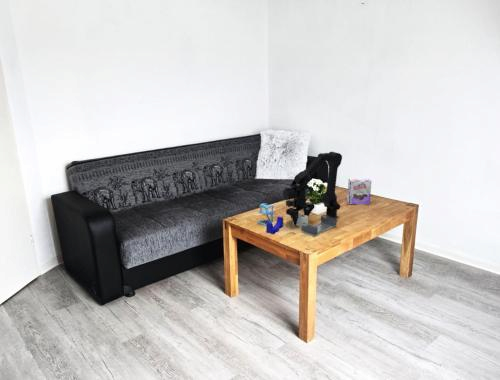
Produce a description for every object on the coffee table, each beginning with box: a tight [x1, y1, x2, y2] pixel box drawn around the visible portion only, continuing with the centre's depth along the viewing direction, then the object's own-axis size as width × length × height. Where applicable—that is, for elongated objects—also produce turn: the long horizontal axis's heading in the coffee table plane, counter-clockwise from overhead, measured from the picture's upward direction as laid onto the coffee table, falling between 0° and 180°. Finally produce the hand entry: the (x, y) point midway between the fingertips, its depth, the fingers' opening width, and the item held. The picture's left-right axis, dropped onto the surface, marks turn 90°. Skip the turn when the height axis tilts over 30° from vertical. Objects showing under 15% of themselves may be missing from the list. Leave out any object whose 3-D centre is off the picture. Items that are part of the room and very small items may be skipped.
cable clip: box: [265, 216, 284, 235], centre depth 225 cm, size 12×4×6 cm, turn 142°
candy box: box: [346, 178, 372, 205], centre depth 265 cm, size 14×6×16 cm, turn 88°
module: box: [292, 212, 309, 228], centre depth 232 cm, size 4×8×6 cm, turn 44°
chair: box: [256, 202, 275, 227], centre depth 235 cm, size 8×8×12 cm
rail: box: [300, 214, 338, 237], centre depth 225 cm, size 20×9×5 cm, turn 134°
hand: (300, 222), depth 233 cm, fingers open, 9 cm apart
